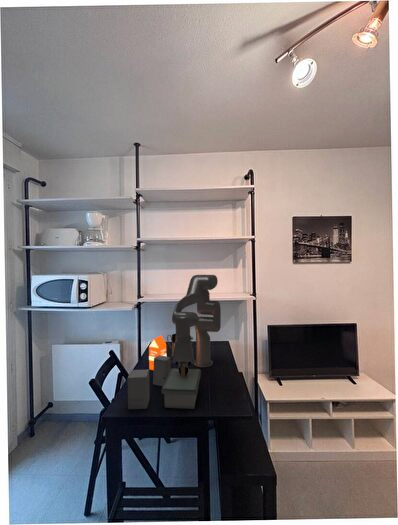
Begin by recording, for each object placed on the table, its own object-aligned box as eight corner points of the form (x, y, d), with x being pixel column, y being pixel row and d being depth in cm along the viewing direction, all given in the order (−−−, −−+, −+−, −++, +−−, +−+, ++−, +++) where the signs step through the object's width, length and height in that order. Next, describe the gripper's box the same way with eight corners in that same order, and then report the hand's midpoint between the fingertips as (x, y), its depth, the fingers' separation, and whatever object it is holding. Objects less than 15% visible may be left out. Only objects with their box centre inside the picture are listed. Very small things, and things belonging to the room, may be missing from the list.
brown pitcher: (177, 358, 179) (177, 337, 179) (163, 354, 188) (163, 334, 188) (185, 354, 186) (185, 334, 186) (171, 350, 195) (171, 331, 195)
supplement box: (150, 398, 126) (149, 368, 127) (147, 409, 118) (146, 377, 118) (132, 399, 126) (131, 369, 126) (127, 409, 117) (127, 377, 117)
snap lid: (171, 372, 140) (171, 359, 140) (200, 373, 138) (200, 359, 138) (161, 393, 118) (161, 378, 118) (196, 395, 116) (196, 379, 116)
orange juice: (149, 369, 162) (148, 338, 162) (157, 364, 170) (156, 334, 170) (159, 371, 158) (158, 339, 158) (166, 366, 166) (166, 335, 166)
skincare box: (152, 384, 141) (152, 358, 141) (158, 380, 147) (158, 354, 147) (165, 387, 138) (165, 360, 138) (171, 382, 143) (170, 356, 143)
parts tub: (173, 386, 138) (173, 372, 138) (198, 387, 137) (198, 372, 137) (164, 407, 119) (164, 390, 119) (194, 408, 117) (193, 391, 117)
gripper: (199, 337, 134) (199, 371, 134) (169, 336, 135) (170, 370, 135) (197, 341, 126) (198, 378, 126) (166, 341, 128) (167, 377, 128)
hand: (183, 374), depth 131 cm, fingers closed on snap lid
